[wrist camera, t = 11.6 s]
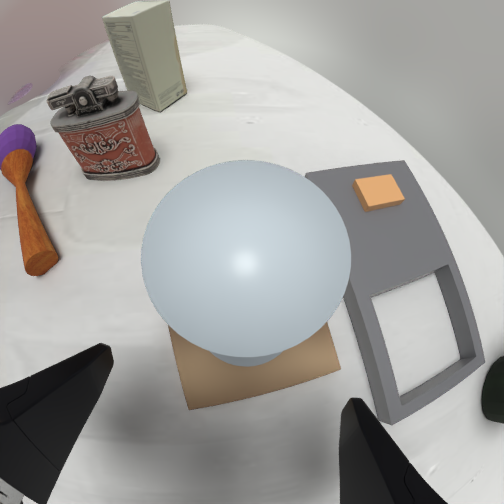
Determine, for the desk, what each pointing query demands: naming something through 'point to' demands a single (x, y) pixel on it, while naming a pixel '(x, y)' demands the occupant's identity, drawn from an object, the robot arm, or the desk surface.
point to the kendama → (26, 198)
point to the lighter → (103, 129)
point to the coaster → (250, 370)
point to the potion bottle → (494, 392)
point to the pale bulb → (246, 260)
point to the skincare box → (147, 51)
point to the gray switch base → (396, 273)
